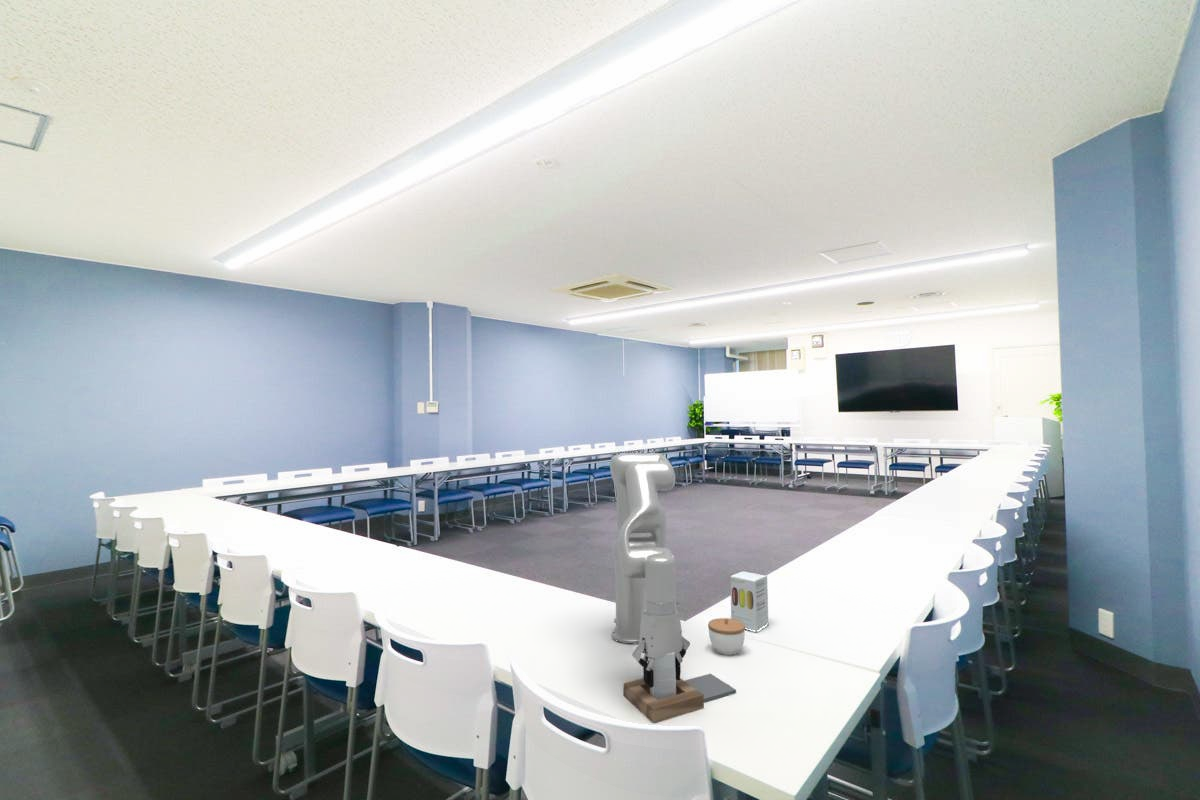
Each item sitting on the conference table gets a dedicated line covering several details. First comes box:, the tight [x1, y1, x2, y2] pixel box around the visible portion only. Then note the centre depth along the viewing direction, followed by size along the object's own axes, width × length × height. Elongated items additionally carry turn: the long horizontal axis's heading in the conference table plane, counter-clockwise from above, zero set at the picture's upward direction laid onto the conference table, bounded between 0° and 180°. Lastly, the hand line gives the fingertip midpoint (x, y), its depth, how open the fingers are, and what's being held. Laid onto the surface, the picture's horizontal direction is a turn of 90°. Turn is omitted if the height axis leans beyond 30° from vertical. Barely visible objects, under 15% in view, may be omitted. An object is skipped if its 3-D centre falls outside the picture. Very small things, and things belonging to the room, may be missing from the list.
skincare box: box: [650, 652, 676, 700], centre depth 125 cm, size 6×4×12 cm
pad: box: [683, 673, 737, 703], centre depth 130 cm, size 10×10×1 cm
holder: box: [622, 677, 705, 724], centre depth 125 cm, size 14×14×3 cm
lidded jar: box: [707, 617, 746, 656], centre depth 154 cm, size 11×11×9 cm
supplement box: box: [730, 570, 769, 631], centre depth 174 cm, size 10×9×17 cm
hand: (662, 681), depth 125 cm, fingers closed on skincare box, 7 cm apart
